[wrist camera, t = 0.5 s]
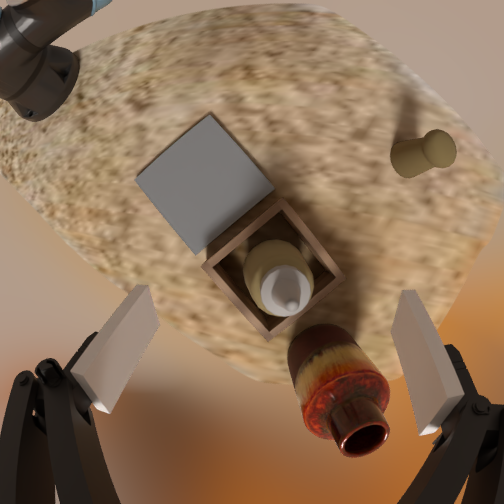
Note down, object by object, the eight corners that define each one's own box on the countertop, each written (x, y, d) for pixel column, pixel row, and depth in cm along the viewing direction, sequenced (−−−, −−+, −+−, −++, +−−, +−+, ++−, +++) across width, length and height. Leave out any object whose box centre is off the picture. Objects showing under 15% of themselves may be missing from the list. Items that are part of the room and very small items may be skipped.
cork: (424, 154, 38) (466, 141, 27) (414, 185, 39) (457, 178, 28) (396, 134, 38) (435, 114, 27) (385, 165, 38) (424, 152, 27)
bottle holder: (206, 260, 39) (200, 266, 34) (278, 199, 39) (283, 197, 34) (265, 327, 41) (268, 341, 36) (335, 271, 40) (346, 278, 35)
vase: (318, 310, 41) (373, 382, 20) (365, 345, 42) (429, 418, 21) (272, 362, 42) (289, 458, 21) (322, 392, 42) (358, 480, 22)
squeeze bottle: (231, 264, 40) (218, 302, 22) (274, 224, 39) (296, 231, 21) (270, 305, 40) (286, 368, 22) (312, 267, 40) (359, 304, 22)
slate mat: (136, 180, 38) (134, 179, 37) (210, 116, 37) (209, 114, 36) (196, 254, 39) (195, 255, 38) (274, 189, 38) (275, 188, 37)
